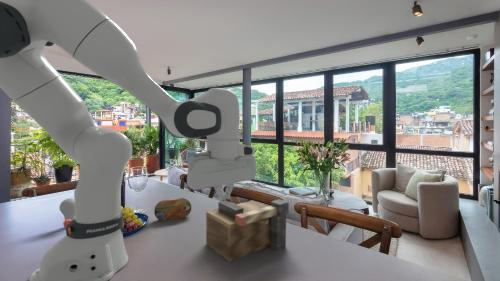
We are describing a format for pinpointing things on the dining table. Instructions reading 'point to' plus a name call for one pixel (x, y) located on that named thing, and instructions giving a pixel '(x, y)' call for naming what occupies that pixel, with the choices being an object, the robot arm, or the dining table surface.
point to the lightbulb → (68, 208)
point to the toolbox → (248, 234)
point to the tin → (172, 209)
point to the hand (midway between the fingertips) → (224, 200)
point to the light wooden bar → (256, 215)
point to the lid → (234, 212)
